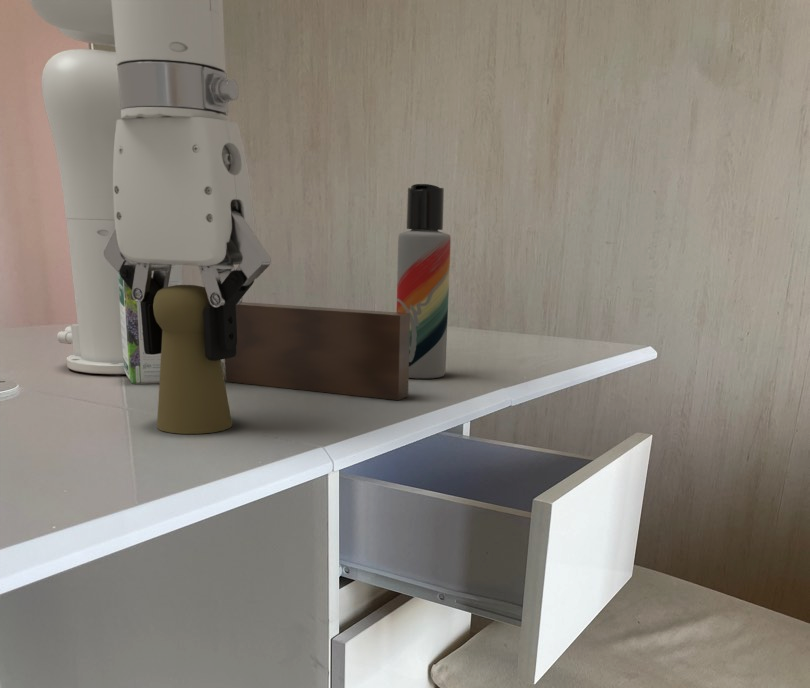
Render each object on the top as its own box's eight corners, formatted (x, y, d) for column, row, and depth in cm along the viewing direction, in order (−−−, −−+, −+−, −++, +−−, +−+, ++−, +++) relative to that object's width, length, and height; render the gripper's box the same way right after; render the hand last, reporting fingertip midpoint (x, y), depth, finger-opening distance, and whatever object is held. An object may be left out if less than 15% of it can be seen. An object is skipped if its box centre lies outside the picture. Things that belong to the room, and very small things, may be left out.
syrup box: (122, 371, 90) (111, 229, 84) (178, 369, 92) (171, 230, 86) (131, 385, 85) (120, 236, 79) (189, 382, 88) (183, 237, 82)
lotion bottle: (387, 376, 93) (391, 182, 86) (405, 369, 98) (410, 186, 91) (435, 380, 91) (443, 183, 85) (451, 373, 96) (459, 186, 90)
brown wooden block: (225, 381, 88) (221, 303, 85) (238, 378, 90) (235, 301, 87) (398, 400, 81) (400, 315, 78) (408, 396, 83) (410, 313, 80)
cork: (214, 436, 65) (205, 289, 61) (142, 430, 66) (130, 286, 62) (243, 420, 70) (238, 284, 67) (177, 415, 72) (168, 282, 68)
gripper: (303, 103, 60) (307, 358, 66) (118, 111, 66) (138, 342, 73) (243, 87, 54) (254, 371, 60) (44, 97, 60) (73, 352, 66)
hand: (190, 353), depth 66 cm, fingers closed on cork, 5 cm apart
